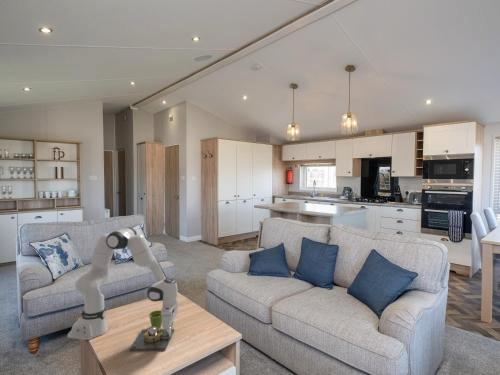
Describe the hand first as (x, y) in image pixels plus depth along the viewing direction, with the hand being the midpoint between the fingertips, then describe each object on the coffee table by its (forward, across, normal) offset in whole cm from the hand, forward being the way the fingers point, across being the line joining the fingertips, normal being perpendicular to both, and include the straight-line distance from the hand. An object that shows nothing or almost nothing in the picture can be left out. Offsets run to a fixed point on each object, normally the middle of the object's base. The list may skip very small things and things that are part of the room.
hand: (170, 328), depth 177 cm
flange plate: (+5, +4, -9) cm, 12 cm away
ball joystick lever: (+3, +4, -7) cm, 8 cm away
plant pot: (+5, -12, -13) cm, 18 cm away
